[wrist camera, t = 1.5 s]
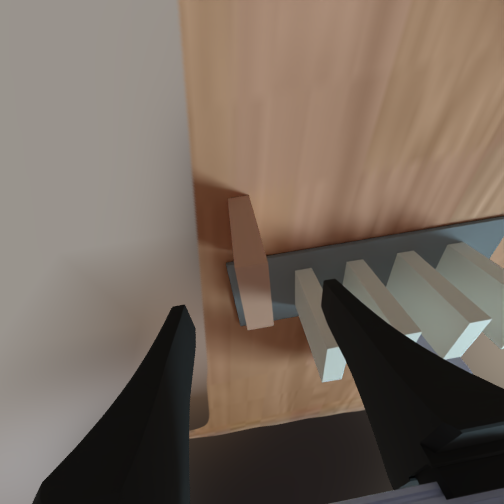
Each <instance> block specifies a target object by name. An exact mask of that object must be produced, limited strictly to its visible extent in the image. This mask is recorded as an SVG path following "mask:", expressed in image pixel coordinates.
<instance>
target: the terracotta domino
mask: <svg viewBox="0 0 504 504" xmlns="http://www.w3.org/2000/svg"><path fill="white" fill-rule="evenodd" d="M228 207H229V217H230V227H231V237H232V247H233V257H234V267H235V272H236V277H237V282H238V287H239V291H240V296H241V301H242V306H243V310H244V315H245V320H246V325H247V329H248V330H252V329H258V328H264V327H269V326H274V321H273V311H272V300H271V289H270V278H269V267H268V261H267V257H266V254H265V250H264V247H263V243H262V240H261V236H260V233H259V229H258V226H257V222H256V219H255V215H254V212H253V208H252V205H251V201H250V198H249V195H246V196H240V197H234V198H228Z"/></svg>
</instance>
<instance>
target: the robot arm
mask: <svg viewBox="0 0 504 504" xmlns="http://www.w3.org/2000/svg"><path fill="white" fill-rule="evenodd" d="M321 308H322V311H323V314H324V316H325V319H326V322H327V324H328V326H329V329H330V331H331V333H332V335H333V337H334V339H335V341H336V343H337V345H338V347H339V349H340V351H341V353H342V355H343V357H344V359H345V361H346V363H347V365H348V367H349V369H350V371H351V373H352V376H353V378H354V381H355V384H356V386H357V389H358V391H359V394H360V396H361V399H362V402H363V405H364V407H365V410H366V413H367V415H368V418H369V421H370V424H371V427H372V429H373V432H374V435H375V438H376V441H377V444H378V447H379V450H380V453H381V456H382V459H383V463H384V466H385V469H386V472H387V475H388V478H389V480H390V483H391V485H392V487H393V489H394V491H388V492H383V493H378V494H374V495H369V496H364V497H359V498H355V499H349V500H345V501H340V502H335V503H331V504H504V389H503V388H501V387H498V386H496V385H494V384H492V383H490V382H488V381H486V380H484V379H482V378H480V377H477V376H475V375H473V373H472V372H471V370H470V369H469V367H468V366H467V365H466V364H465V362H464V361H463V360H462V359H461V358H460V357H456V358H451V359H443V358H441V357H440V356H438V354H437V353H436V352H435V351H434V349H433V348H432V347H431V346H430V344H429V343H428V342H427V341H426V339H425V338H424V337H423V336H422V335H420V337H419V338H418V340H417V342H415V341H413V340H411V339H410V338H408V337H407V336H405V335H404V334H402V333H401V332H400V331H398V330H397V329H395V328H394V327H392V326H391V325H390V324H388V323H387V322H386V321H384V320H383V319H382V318H381V317H379V316H378V315H377V314H375V313H374V312H373V311H372V310H371V309H369V308H368V307H367V306H366V305H365V304H363V303H362V302H361V301H360V300H359V299H358V298H356V297H355V296H354V295H353V294H352V293H351V292H350V291H349V290H348V289H346V288H345V287H344V286H343V285H342V284H341V283H340V282H339V281H338V280H337V279H329V280H324V282H323V291H322V300H321ZM195 339H196V334H195V326H194V324H193V322H192V320H191V317H190V315H189V313H188V310H187V308H186V306H185V305H180V306H175V307H172V308H171V310H170V312H169V315H168V316H167V319H166V321H165V323H164V325H163V326H162V328H161V330H160V332H159V334H158V336H157V338H156V339H155V341H154V343H153V345H152V346H151V348H150V350H149V352H148V353H147V355H146V356H145V358H144V360H143V361H142V363H141V365H140V366H139V368H138V369H137V371H136V372H135V374H134V375H133V377H132V378H131V380H130V381H129V383H128V384H127V385H126V387H125V388H124V389H123V391H122V392H121V394H120V395H119V396H118V397H117V399H116V400H115V401H114V403H113V404H112V405H111V406H110V408H109V409H108V410H107V411H106V413H105V414H104V415H103V417H102V418H101V419H100V420H99V421H98V422H97V423H96V425H95V426H94V427H93V428H92V429H91V430H90V432H89V433H88V434H87V435H86V436H85V437H84V439H83V440H82V441H81V442H80V443H79V444H78V445H77V447H76V448H75V449H74V450H73V451H72V452H71V453H70V454H69V455H68V456H67V457H66V458H65V459H64V460H63V461H62V462H61V463H60V465H58V467H57V468H56V469H55V470H54V471H53V472H52V473H51V474H50V475H49V476H48V477H47V478H46V479H45V480H44V481H43V482H42V484H41V486H40V488H39V490H38V492H37V494H36V497H35V499H34V501H33V503H32V504H190V484H189V410H190V409H189V408H190V393H191V384H192V375H193V366H194V358H195V348H196V340H195Z"/></svg>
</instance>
